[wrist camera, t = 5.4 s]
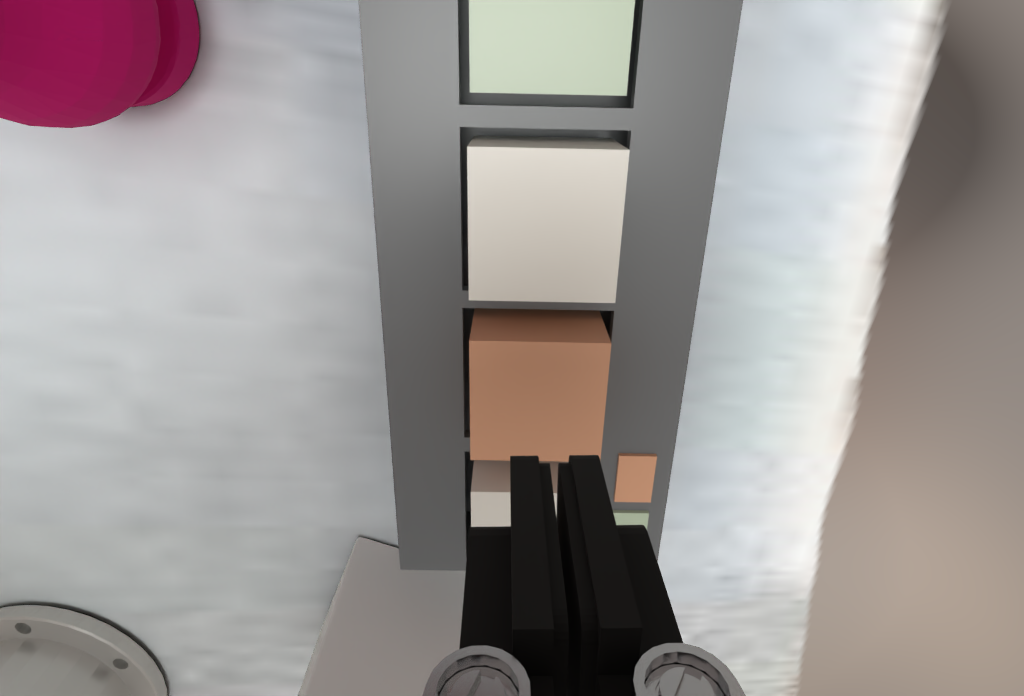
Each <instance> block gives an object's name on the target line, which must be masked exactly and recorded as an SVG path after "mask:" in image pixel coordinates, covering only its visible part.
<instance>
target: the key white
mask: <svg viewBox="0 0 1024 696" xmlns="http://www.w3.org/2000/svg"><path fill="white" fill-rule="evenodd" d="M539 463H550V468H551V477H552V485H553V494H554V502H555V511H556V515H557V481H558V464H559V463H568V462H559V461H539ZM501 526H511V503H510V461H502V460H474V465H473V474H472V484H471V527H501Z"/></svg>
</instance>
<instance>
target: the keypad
mask: <svg viewBox="0 0 1024 696" xmlns="http://www.w3.org/2000/svg"><path fill="white" fill-rule="evenodd" d="M742 3H743V0H635V7H634V18H633V29H632V41H631V52H630V63H629V74H628V85H627V96H613V95H566V94H518V93H471V92H470V66H469V0H359V13H360V27H361V40H362V54H363V68H364V81H365V95H366V109H367V122H368V136H369V149H370V163H371V177H372V190H373V204H374V218H375V231H376V245H377V259H378V272H379V286H380V300H381V313H382V327H383V340H384V354H385V368H386V381H387V395H388V409H389V422H390V436H391V450H392V463H393V477H394V491H395V504H396V518H397V532H398V545H399V559H400V570H448V571H466V561H467V548H468V536H469V528H470V527H471V484H472V474H473V465H474V460H470V375H469V339H470V333H471V327H472V321H473V315H474V309H475V308H492V309H545V310H598V311H600V314H601V316H602V319H603V322H604V324H605V327H606V330H607V333H608V335H609V338H610V341H611V353H610V364H609V375H608V385H607V396H606V406H605V417H604V428H603V438H602V449H601V459H600V462H601V466H602V470H603V474H604V478H605V482H606V486H607V490H608V494H609V498H610V502H611V506H612V510H613V514H614V517H615V521H616V525H644V526H645V527H646V529H647V532H648V535H649V538H650V541H651V544H652V547H653V550H654V553H655V556H656V560H658V554H659V547H660V540H661V534H662V527H663V521H664V514H665V508H666V501H667V495H668V488H669V482H670V475H671V468H672V462H673V455H674V449H675V442H676V436H677V429H678V423H679V416H680V409H681V403H682V396H683V390H684V383H685V377H686V370H687V364H688V357H689V351H690V344H691V337H692V331H693V324H694V318H695V311H696V305H697V298H698V292H699V285H700V278H701V272H702V265H703V259H704V252H705V246H706V239H707V233H708V226H709V220H710V213H711V206H712V200H713V193H714V187H715V180H716V174H717V167H718V161H719V154H720V147H721V141H722V134H723V128H724V121H725V115H726V108H727V102H728V95H729V88H730V82H731V75H732V69H733V62H734V56H735V49H736V43H737V36H738V30H739V23H740V16H741V10H742ZM474 136H521V137H569V138H612V139H613V140H615V141H616V142H618V143H620V144H621V145H623V146H624V147H626V148H627V149H629V150H630V152H629V163H628V173H627V184H626V195H625V205H624V216H623V226H622V237H621V248H620V258H619V269H618V279H617V290H616V301H615V303H582V302H530V301H477V300H469V278H468V181H467V146H468V145H469V143H470V141H471V140H472V138H473V137H474Z"/></svg>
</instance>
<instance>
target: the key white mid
mask: <svg viewBox="0 0 1024 696" xmlns="http://www.w3.org/2000/svg"><path fill="white" fill-rule="evenodd" d="M629 152H630V150H629V149H627V148H626V147H624V146H623V145H621V144H620V143H618V142H616V141H615V140H613V139H612V138H569V137H521V136H474V137H473V138H472V140H471V141H470V143H469V145H468V146H467V181H468V278H469V300H477V301H530V302H582V303H615V301H616V290H617V279H618V269H619V258H620V248H621V237H622V226H623V216H624V205H625V195H626V184H627V173H628V163H629Z"/></svg>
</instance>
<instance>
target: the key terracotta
mask: <svg viewBox="0 0 1024 696" xmlns="http://www.w3.org/2000/svg"><path fill="white" fill-rule="evenodd" d="M610 353H611V341H610V338H609V335H608V333H607V330H606V327H605V324H604V322H603V319H602V316H601V314H600V311H598V310H545V309H492V308H475V309H474V315H473V321H472V327H471V333H470V339H469V375H470V460H502V461H510V456H538V457H539V461H559V462H568V460H569V456H570V455H598V456H599V458H600V459H601V449H602V438H603V428H604V417H605V406H606V396H607V385H608V375H609V364H610Z"/></svg>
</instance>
